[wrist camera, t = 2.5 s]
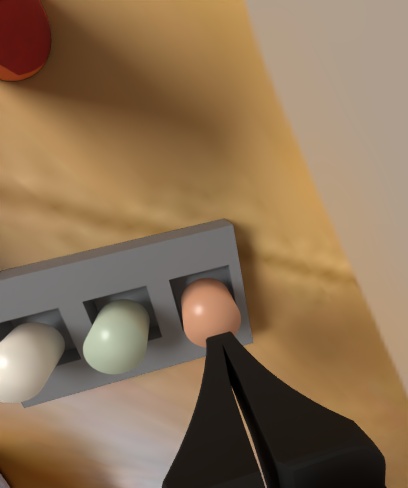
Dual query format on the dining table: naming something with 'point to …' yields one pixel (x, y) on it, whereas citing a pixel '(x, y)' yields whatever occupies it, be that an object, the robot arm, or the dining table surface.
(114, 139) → the dining table surface
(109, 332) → the button sage
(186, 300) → the button salmon
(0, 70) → the paper cup
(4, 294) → the panel
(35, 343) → the button ivory
